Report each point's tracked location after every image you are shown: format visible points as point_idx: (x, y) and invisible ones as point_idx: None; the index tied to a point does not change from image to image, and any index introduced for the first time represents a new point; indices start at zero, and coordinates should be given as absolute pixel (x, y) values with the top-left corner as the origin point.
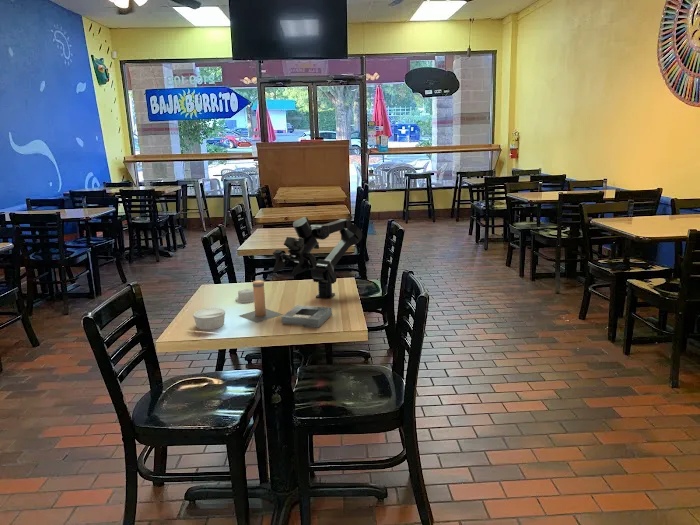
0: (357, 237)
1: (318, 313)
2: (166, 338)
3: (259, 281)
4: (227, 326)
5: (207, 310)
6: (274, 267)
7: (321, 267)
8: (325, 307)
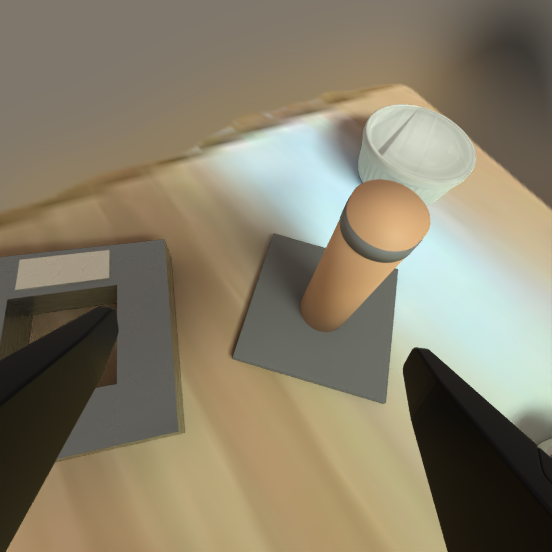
0: None
1: None
2: (412, 95)
3: (389, 220)
4: (349, 190)
5: (448, 153)
6: (461, 384)
7: None
8: None
